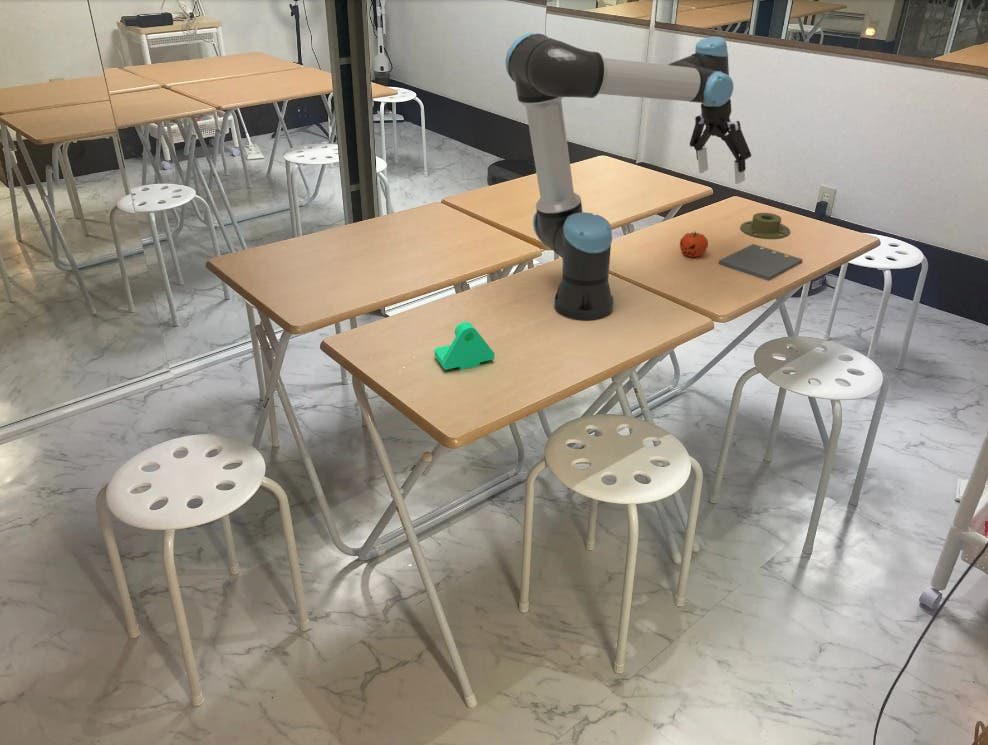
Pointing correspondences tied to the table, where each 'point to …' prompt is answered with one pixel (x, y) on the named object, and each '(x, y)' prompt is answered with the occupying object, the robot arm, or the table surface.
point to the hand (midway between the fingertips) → (721, 176)
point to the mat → (760, 261)
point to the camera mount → (464, 349)
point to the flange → (765, 227)
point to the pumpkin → (693, 244)
